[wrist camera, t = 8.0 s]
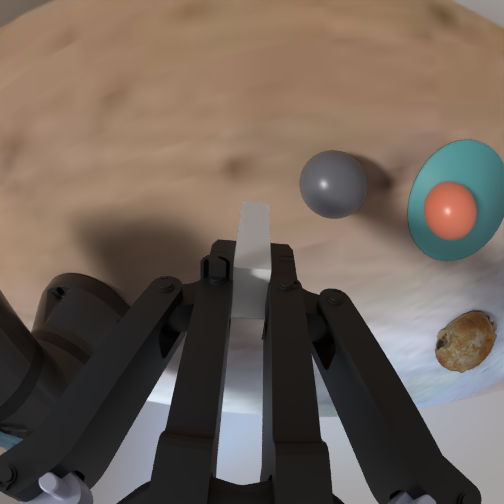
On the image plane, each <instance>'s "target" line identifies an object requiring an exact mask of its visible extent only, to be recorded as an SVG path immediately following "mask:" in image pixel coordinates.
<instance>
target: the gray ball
mask: <svg viewBox="0 0 504 504" xmlns="http://www.w3.org/2000/svg"><path fill="white" fill-rule="evenodd" d="M367 185H368V184H367V177H366V174H365V171H364V169H363V168H362V166H361V165H360V163H359V162H358V161H357V160H356V159H355V158H353V157H352V156H350V155H349V154H347V153H344V152H341V151H334V150H331V151H324V152H321V153H319V154H317V155H315V156H314V157H312V158H311V159H310V160H309V161H308V162H307V163H306V165H305V166H304V168H303V170H302V173H301V176H300V191H301V195H302V197H303V200H304V201H305V203H306V204H307V206H308V207H309V208H310V209H311V210H312V211H314V212H315V213H316V214H318V215H320V216H322V217H326V218H330V219H339V218H343V217H346V216H349V215H351V214H352V213H354V212H355V211H356V210H358V208H359V207H360V206H361V205H362V203H363V202H364V200H365V197H366V194H367Z"/></svg>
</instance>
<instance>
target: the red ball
mask: <svg viewBox="0 0 504 504" xmlns="http://www.w3.org/2000/svg"><path fill="white" fill-rule="evenodd" d="M424 217H425V221H426V223H427V225H428V227H429V228H430V230H431V231H432V232H433V233H434V234H435V235H436V236H438V237H440V238H442V239H445V240H458V239H461V238H463V237H464V236H466V235H467V234H468V233H469V232H470V231H471V230H472V228H473V226H474V224H475V221H476V217H477V207H476V203H475V200H474V197H473V196H472V194H471V192H470V191H469V190H468V189H467V188H466V187H464V186H463V185H461V184H460V183H457V182H453V181H445V182H441V183H439V184H437V185H435V186H434V187H433V188H432V189H431V190H430V191H429V192H428V194H427V196H426V198H425V201H424Z"/></svg>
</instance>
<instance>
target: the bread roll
mask: <svg viewBox="0 0 504 504" xmlns="http://www.w3.org/2000/svg"><path fill="white" fill-rule="evenodd" d="M496 328H497V326H496V322H495V321H494V322H493V323H492V322H490V321H489V316H486V315H485V314H484V313H483V312H475V311H470V312H469V313H467V314H463V315H462V316H460V317H458V318H456V319H454V320H453V321H451V322H450V323H449V324H448V325H447V326H446V327H445V328H444V329H441V330H440V332H439V333H438V336H437V338H438V340H437V343H436V349H435V351H436V358H437V360H438V362H439V363H440V364H441V365H442V366H443V367H445V368H446V369H448V370H451V371H458V372H460V373H463V372H465V371H466V370H470V369H473V368H474V367H476V366H478V365H479V364H480V363H481V362H482V361H484V360H485V359H486V357H487V356H488V355H489V353H490V352H491V350H492V347H493V345H494V342H495V339H496V337H497V335H496V334H495V331H496Z"/></svg>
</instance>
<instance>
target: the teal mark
mask: <svg viewBox="0 0 504 504" xmlns="http://www.w3.org/2000/svg"><path fill="white" fill-rule="evenodd" d="M445 181H453V182H457V183H460V184H461V185H463V186H464V187H466V188H467V189H468V190H469V191H470V192H471V194H472V196H473V197H474V200H475V203H476V207H477V217H476V221H475V224H474V226H473V228H472V230H471V231H470V232H469V233H468V234H467V235H466V236H464V237H463V238H461V239H458V240H445V239H442V238H440V237H438V236H436V235H435V234H434V233H433V232H432V231H431V230H430V228H429V227H428V225H427V223H426V221H425V217H424V201H425V198H426V196H427V194H428V192H429V191H430V190H431V189H432V188H433V187H434V186H435V185H437V184H439V183H441V182H445ZM503 217H504V164H503V162H502V160H501V159H500V157H499V156H498V154H497V153H496V152H495V151H494V150H493V149H492V148H490V147H489V146H487V145H486V144H484V143H481V142H479V141H475V140H460V141H455V142H453V143H450V144H448V145H446V146H444V147H442V148H441V149H440V150H438V151H437V152H436V153H435V154H433V155H432V156H431V157H430V158H429V160H428V161H427V162H426V163H425V164H424V166H423V167H422V169H421V170H420V172H419V173H418V175H417V178H416V180H415V182H414V184H413V187H412V190H411V193H410V197H409V203H408V224H409V229H410V232H411V235H412V238H413V239H414V241H415V243H416V244H417V246H418V247H419V248H420V250H422V251H423V252H424V253H425V254H426V255H428V256H430V257H432V258H434V259H437V260H441V261H454V260H459V259H462V258H465V257H467V256H469V255H471V254H473V253H475V252H476V251H478V250H479V249H480V248H482V247H483V246H484V245H485V244H486V243H487V242H488V241H489V240H490V239H491V238H492V236H493V235H494V234H495V232H496V231H497V229H498V227H499V226H500V224H501V222H502V220H503Z"/></svg>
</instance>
